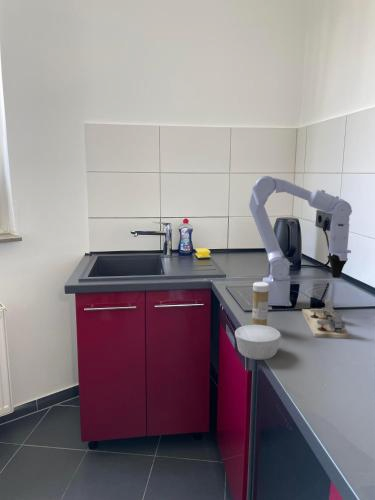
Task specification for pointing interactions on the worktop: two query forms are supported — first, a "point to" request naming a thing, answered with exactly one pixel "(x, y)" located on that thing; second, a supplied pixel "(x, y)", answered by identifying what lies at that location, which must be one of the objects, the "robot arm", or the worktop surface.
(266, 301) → the sprinkles bottle
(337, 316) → the fixed leg
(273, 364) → the worktop surface
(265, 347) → the ramekin
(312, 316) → the board
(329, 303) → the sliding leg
